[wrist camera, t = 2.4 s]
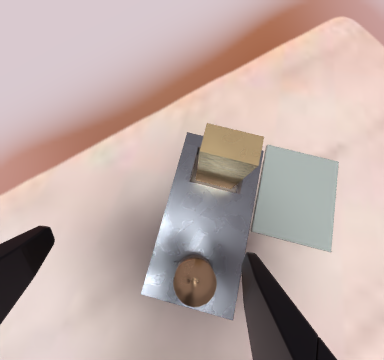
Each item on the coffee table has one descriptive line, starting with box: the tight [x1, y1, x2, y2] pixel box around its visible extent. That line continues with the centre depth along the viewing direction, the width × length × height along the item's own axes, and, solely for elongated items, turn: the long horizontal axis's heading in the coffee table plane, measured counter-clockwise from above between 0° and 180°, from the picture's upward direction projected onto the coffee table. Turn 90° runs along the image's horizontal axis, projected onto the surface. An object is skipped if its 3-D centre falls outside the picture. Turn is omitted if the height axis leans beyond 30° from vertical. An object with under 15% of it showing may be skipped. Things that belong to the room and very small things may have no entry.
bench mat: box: [251, 145, 339, 252], centre depth 23 cm, size 11×9×1 cm
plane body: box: [141, 132, 263, 320], centre depth 20 cm, size 18×9×6 cm, turn 165°
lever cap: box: [196, 123, 264, 189], centre depth 19 cm, size 3×4×10 cm, turn 75°
